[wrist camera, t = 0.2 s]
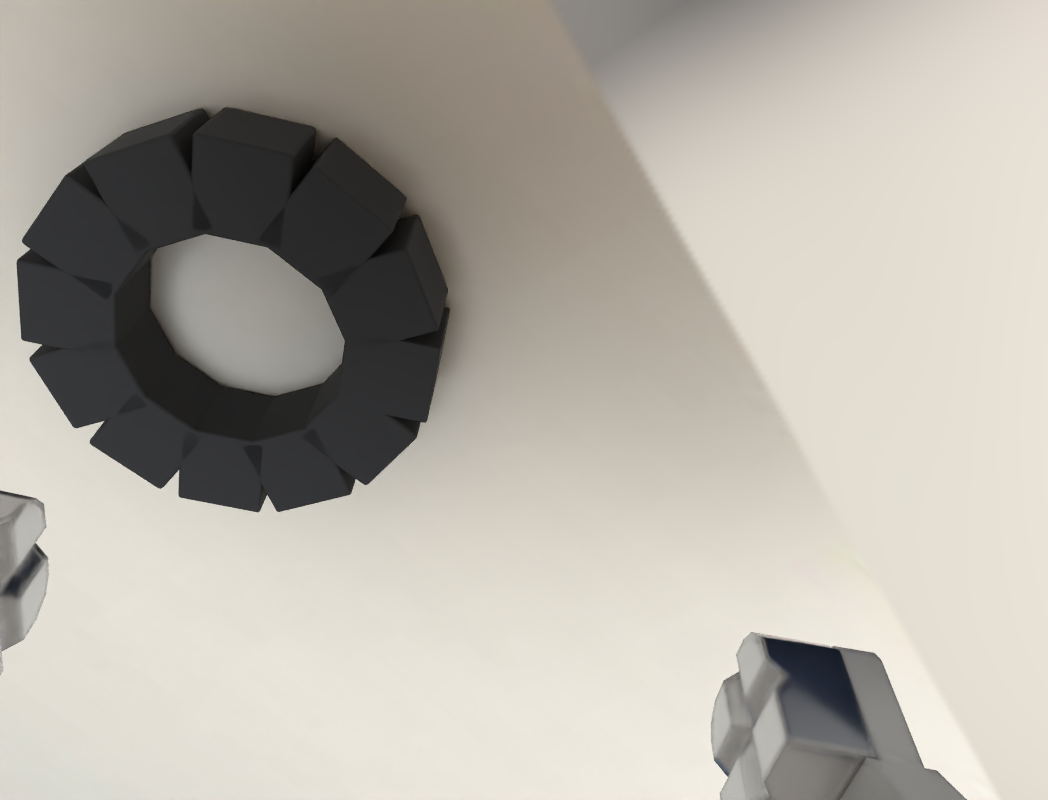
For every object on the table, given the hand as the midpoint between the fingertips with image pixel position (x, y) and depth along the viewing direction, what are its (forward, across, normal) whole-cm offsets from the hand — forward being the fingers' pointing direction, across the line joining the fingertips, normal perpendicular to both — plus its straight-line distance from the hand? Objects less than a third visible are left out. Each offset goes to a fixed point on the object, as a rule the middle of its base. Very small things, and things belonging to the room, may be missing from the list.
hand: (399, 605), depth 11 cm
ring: (+13, +5, +4) cm, 15 cm away
